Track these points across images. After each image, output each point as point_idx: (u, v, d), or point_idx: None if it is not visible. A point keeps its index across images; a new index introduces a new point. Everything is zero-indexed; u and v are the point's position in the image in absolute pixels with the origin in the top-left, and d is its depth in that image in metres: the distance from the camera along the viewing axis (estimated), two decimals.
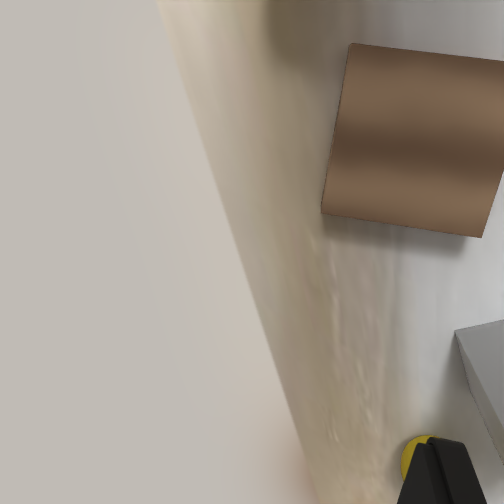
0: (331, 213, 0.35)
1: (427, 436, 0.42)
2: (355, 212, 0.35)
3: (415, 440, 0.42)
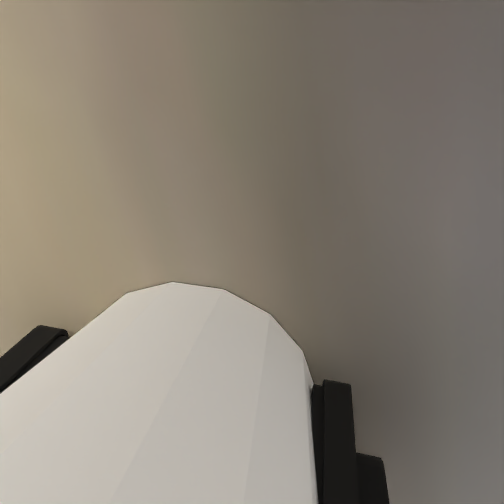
0: None
1: None
2: None
3: None
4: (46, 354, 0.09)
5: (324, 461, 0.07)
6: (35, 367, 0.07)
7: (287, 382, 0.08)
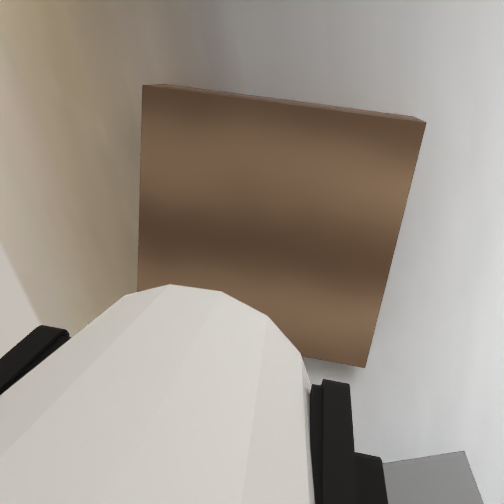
0: None
1: None
2: None
3: None
4: (47, 354, 0.09)
5: (323, 460, 0.07)
6: (33, 370, 0.07)
7: (285, 384, 0.08)
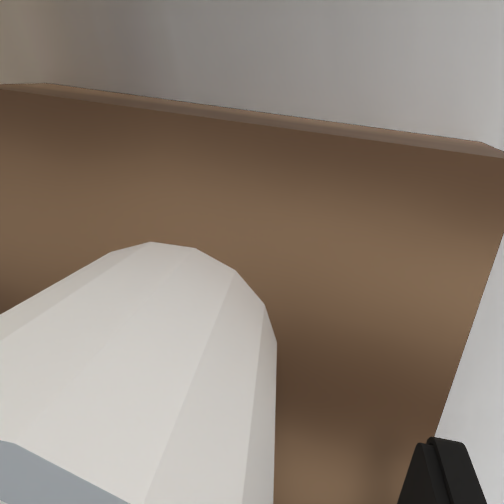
0: None
1: None
2: None
3: None
4: None
5: None
6: (29, 298, 0.08)
7: (244, 321, 0.09)
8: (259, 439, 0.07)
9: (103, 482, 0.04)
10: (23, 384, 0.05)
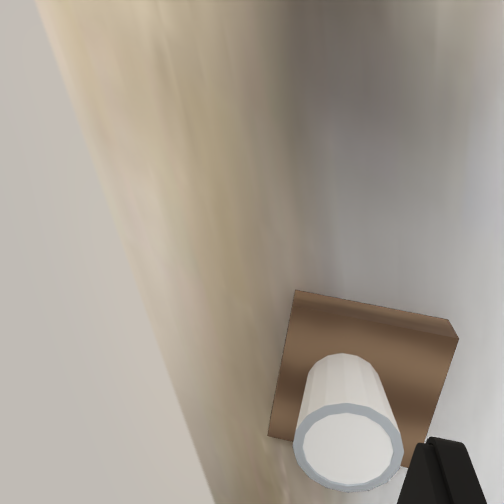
0: (277, 437, 0.38)
1: None
2: None
3: None
4: None
5: None
6: (327, 375, 0.32)
7: (378, 381, 0.33)
8: None
9: (381, 413, 0.28)
10: (359, 397, 0.28)
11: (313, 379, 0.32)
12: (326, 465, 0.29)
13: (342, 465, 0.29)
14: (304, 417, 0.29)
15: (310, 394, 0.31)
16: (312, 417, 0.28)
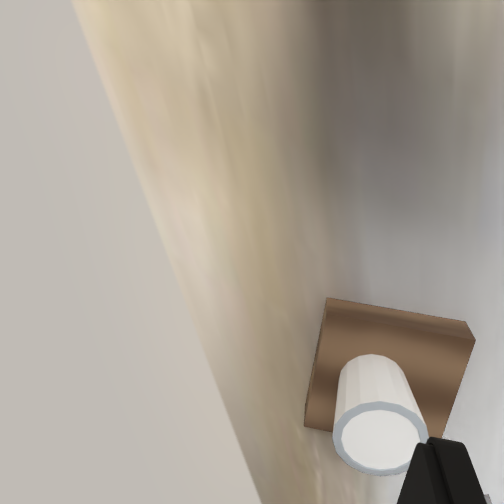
0: (312, 427, 0.42)
1: None
2: (332, 428, 0.42)
3: None
4: None
5: None
6: (360, 375, 0.36)
7: (404, 379, 0.37)
8: None
9: (410, 410, 0.32)
10: (390, 396, 0.33)
11: (347, 378, 0.37)
12: (361, 453, 0.34)
13: (375, 453, 0.34)
14: (342, 413, 0.33)
15: (345, 392, 0.35)
16: (349, 413, 0.33)
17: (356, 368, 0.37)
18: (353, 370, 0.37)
